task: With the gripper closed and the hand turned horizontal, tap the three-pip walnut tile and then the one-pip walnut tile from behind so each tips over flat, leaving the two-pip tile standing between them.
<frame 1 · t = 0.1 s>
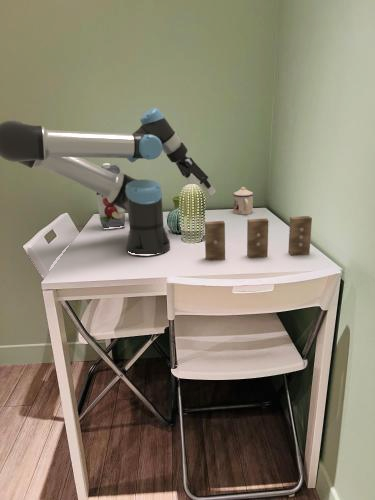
hand: (205, 191, 146), 15 cm above the table, tool tilted 35°, fingers open, 13 cm apart
tile 3: (298, 253, 119), on the table
plant pot: (183, 216, 172), on the table
tile 1: (215, 258, 118), on the table
tile 2: (257, 256, 119), on the table
juice carton: (113, 227, 158), on the table
teacup with lid: (243, 213, 171), on the table
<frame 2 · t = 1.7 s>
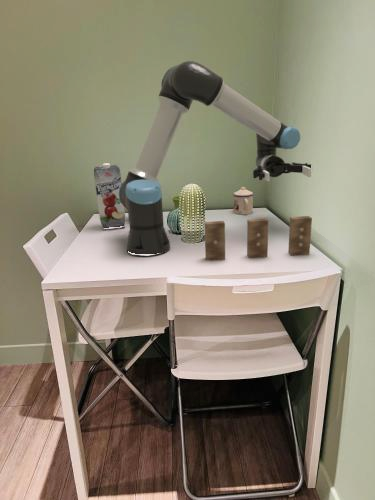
hand: (289, 175, 120), 24 cm above the table, tool horizontal, fingers open, 13 cm apart
nothing on the table moved.
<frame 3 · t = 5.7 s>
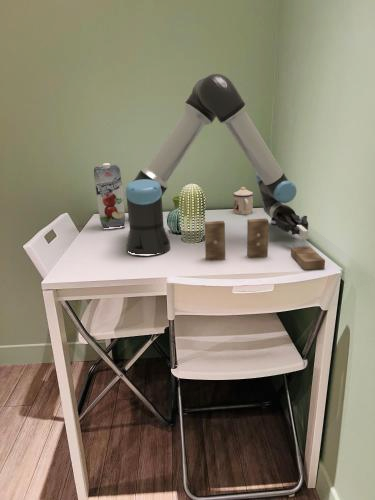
hand: (305, 235, 115), 7 cm above the table, tool horizontal, fingers closed
tile 3: (300, 250, 117), point 1 cm above the table, tilted 90°
everything else where it was.
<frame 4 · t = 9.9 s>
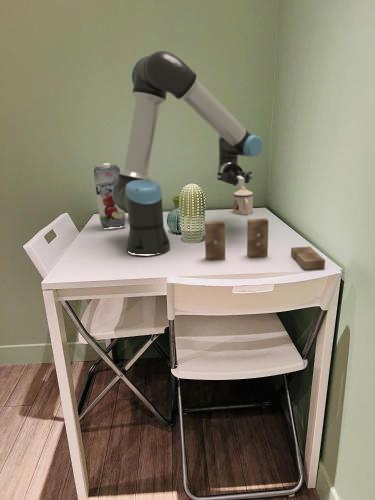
hand: (242, 182, 119), 22 cm above the table, tool horizontal, fingers closed
nothing on the table moved.
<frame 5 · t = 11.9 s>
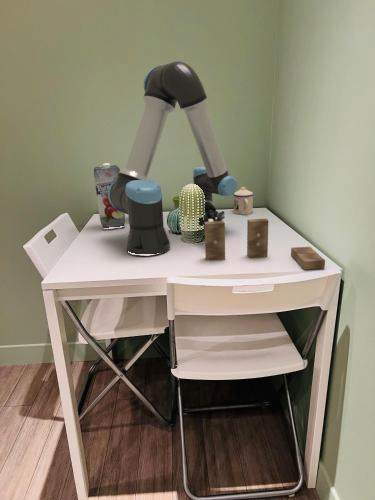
hand: (212, 227, 122), 8 cm above the table, tool horizontal, fingers closed
nothing on the table moved.
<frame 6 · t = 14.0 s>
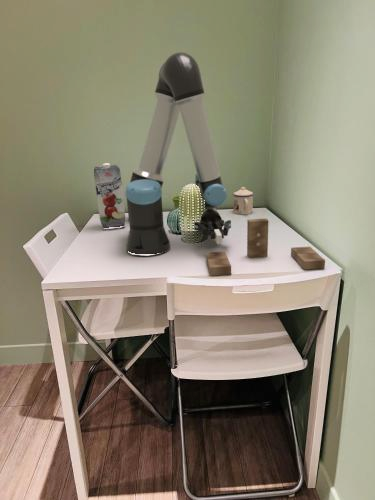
hand: (219, 239, 111), 8 cm above the table, tool horizontal, fingers closed
tile 1: (215, 255, 116), point 1 cm above the table, tilted 90°
everything else where it was.
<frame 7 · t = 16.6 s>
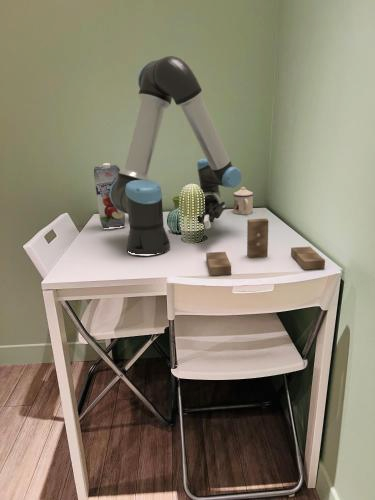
hand: (206, 224, 123), 9 cm above the table, tool horizontal, fingers closed
nothing on the table moved.
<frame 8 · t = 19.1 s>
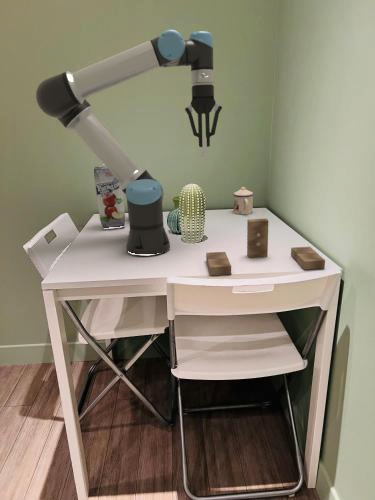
hand: (204, 156, 133), 29 cm above the table, tool pointing down, fingers closed
nothing on the table moved.
at the end: tile 3 tilted 90°; tile 1 tilted 90°; tile 2 tilted 0° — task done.
